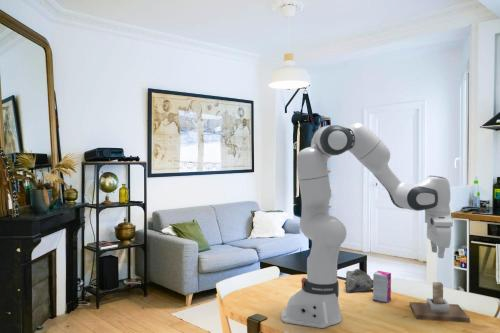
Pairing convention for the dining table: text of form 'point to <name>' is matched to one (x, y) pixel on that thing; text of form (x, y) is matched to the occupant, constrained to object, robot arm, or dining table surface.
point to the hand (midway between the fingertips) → (437, 254)
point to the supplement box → (381, 286)
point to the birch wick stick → (437, 293)
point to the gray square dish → (438, 306)
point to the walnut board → (424, 313)
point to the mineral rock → (358, 281)
